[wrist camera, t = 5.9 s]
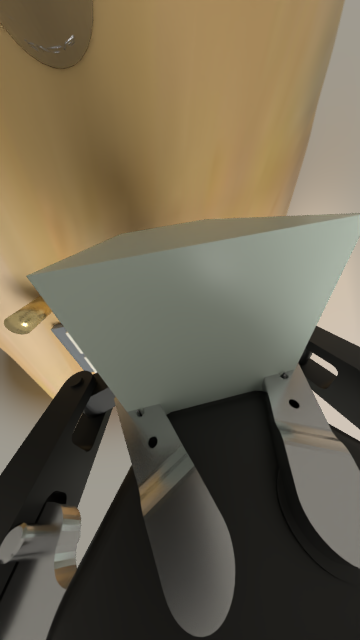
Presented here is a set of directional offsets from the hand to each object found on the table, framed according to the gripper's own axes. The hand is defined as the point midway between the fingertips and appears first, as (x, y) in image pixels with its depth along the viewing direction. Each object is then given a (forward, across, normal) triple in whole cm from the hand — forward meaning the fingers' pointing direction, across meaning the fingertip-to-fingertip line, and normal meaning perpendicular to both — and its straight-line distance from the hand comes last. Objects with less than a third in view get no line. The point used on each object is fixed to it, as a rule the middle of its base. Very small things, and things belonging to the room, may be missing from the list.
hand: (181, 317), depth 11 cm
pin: (+19, +22, +3) cm, 29 cm away
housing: (+2, 0, 0) cm, 2 cm away
